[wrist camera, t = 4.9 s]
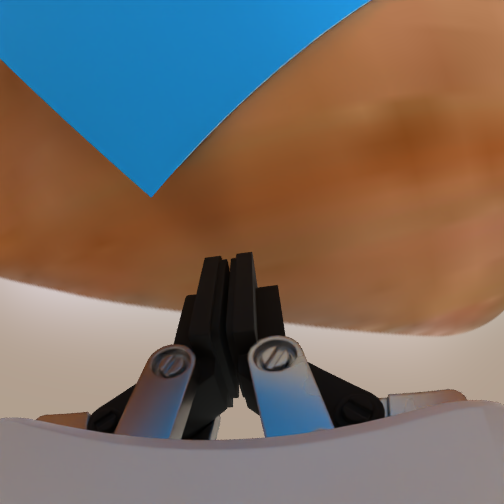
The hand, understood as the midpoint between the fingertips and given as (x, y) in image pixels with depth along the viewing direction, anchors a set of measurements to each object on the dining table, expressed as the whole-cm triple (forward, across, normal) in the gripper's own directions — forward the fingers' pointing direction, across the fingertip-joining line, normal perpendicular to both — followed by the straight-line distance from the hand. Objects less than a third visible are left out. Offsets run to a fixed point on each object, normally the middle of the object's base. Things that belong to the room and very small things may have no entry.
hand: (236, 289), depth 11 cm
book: (+2, +2, -19) cm, 20 cm away
